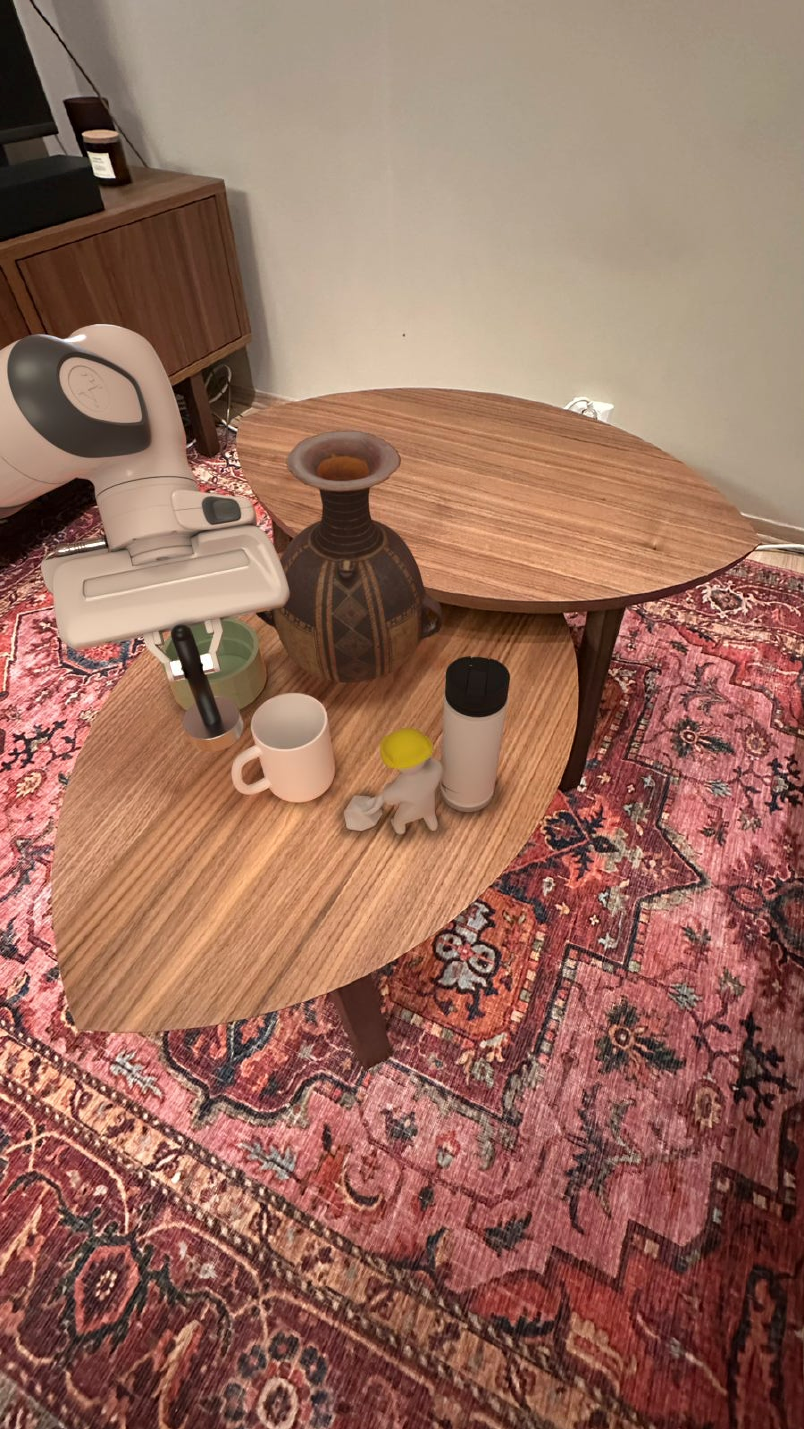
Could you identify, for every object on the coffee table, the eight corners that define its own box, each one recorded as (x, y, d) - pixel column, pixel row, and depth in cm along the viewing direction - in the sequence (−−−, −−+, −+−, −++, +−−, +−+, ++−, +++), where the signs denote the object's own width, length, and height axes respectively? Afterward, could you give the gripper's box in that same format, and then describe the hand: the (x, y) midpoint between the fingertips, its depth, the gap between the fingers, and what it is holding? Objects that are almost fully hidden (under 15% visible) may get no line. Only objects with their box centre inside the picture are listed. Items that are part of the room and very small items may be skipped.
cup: (349, 781, 81) (342, 726, 73) (260, 834, 76) (242, 781, 69) (312, 737, 85) (302, 681, 78) (226, 785, 81) (205, 731, 73)
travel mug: (436, 812, 78) (440, 693, 63) (443, 765, 82) (449, 644, 67) (490, 819, 77) (509, 701, 62) (495, 772, 81) (513, 651, 66)
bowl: (188, 732, 86) (174, 697, 81) (163, 670, 94) (149, 635, 89) (280, 697, 90) (272, 662, 85) (249, 641, 97) (240, 605, 92)
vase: (248, 684, 92) (193, 480, 69) (314, 598, 103) (286, 398, 80) (406, 734, 86) (403, 528, 63) (458, 636, 97) (471, 432, 74)
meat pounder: (196, 760, 67) (154, 657, 56) (181, 721, 70) (138, 617, 59) (251, 738, 68) (220, 635, 58) (233, 702, 72) (201, 597, 61)
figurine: (399, 768, 82) (396, 681, 71) (453, 815, 78) (460, 731, 66) (333, 816, 78) (320, 733, 66) (387, 870, 73) (382, 790, 62)
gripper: (22, 541, 56) (67, 704, 58) (268, 496, 60) (305, 650, 61) (46, 555, 62) (86, 702, 64) (267, 513, 66) (302, 653, 67)
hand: (196, 676), depth 63 cm, fingers closed on meat pounder
